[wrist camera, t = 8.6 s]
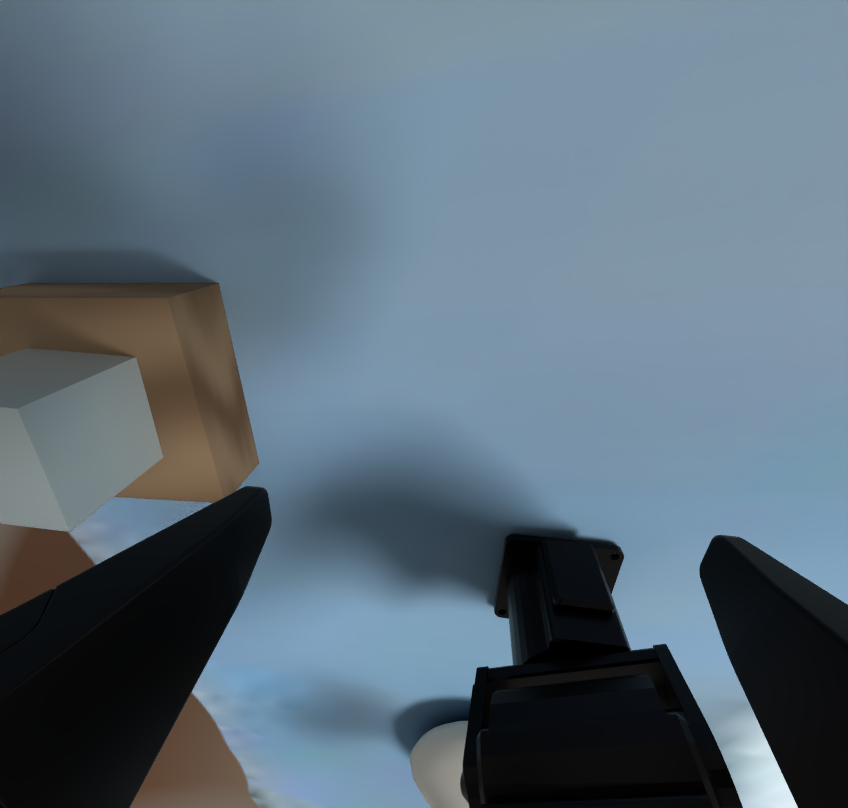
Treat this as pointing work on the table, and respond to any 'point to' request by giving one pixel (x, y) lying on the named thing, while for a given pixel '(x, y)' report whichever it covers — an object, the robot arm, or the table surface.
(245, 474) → the tan block
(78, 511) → the gray cube
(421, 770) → the flower in vase
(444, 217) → the table surface
